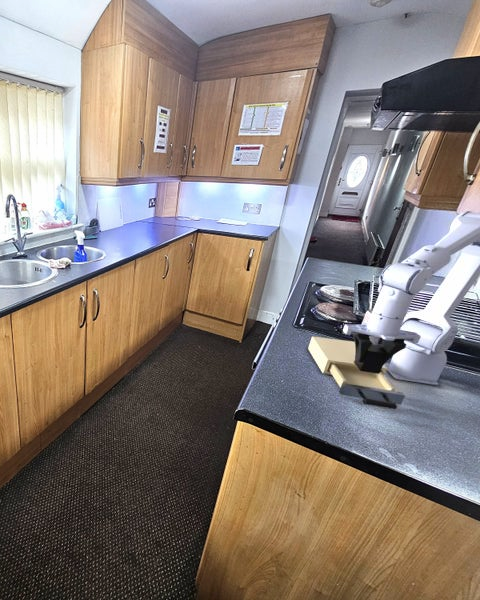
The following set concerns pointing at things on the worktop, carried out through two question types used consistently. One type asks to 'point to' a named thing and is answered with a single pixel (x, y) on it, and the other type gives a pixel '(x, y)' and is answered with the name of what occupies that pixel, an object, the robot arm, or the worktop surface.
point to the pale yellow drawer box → (333, 353)
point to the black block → (372, 359)
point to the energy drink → (365, 321)
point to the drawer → (366, 386)
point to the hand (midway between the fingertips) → (368, 361)
